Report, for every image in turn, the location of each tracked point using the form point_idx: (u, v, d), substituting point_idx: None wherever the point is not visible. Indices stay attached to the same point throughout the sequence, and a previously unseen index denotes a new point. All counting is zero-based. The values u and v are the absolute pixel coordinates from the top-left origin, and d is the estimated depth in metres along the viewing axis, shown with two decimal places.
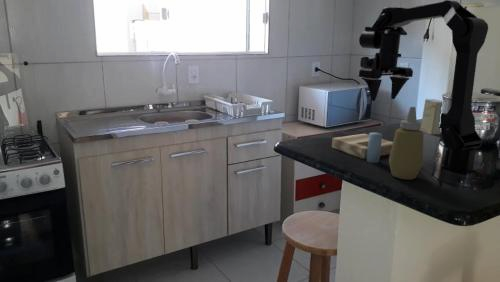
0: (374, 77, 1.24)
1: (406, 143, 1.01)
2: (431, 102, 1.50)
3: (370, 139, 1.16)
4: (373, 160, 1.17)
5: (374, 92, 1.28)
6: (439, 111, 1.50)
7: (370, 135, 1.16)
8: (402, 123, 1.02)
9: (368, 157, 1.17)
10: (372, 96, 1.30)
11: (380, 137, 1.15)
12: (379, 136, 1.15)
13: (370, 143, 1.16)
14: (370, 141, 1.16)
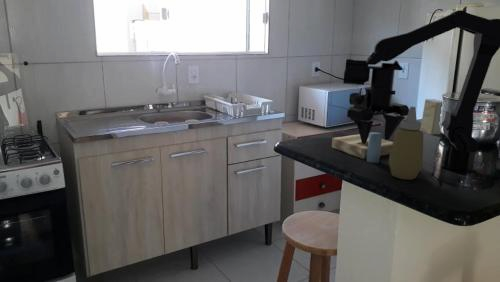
0: (364, 119, 1.08)
1: (406, 143, 1.01)
2: (431, 102, 1.50)
3: (370, 139, 1.16)
4: (373, 160, 1.17)
5: (365, 134, 1.12)
6: (439, 111, 1.50)
7: (370, 135, 1.16)
8: (402, 123, 1.02)
9: (368, 157, 1.17)
10: (362, 138, 1.14)
11: (380, 137, 1.15)
12: (379, 136, 1.15)
13: (370, 143, 1.16)
14: (370, 141, 1.16)
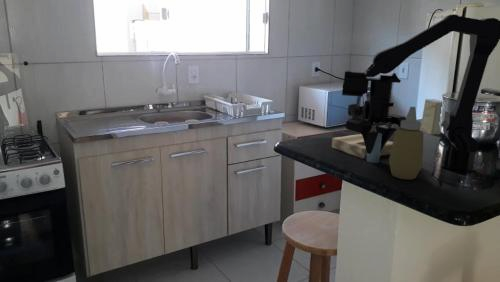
0: (362, 131, 1.09)
1: (406, 143, 1.01)
2: (431, 102, 1.50)
3: None
4: (373, 160, 1.17)
5: (370, 145, 1.15)
6: (439, 111, 1.50)
7: None
8: (402, 123, 1.02)
9: (368, 157, 1.17)
10: (368, 149, 1.16)
11: (380, 137, 1.15)
12: (379, 136, 1.15)
13: None
14: None
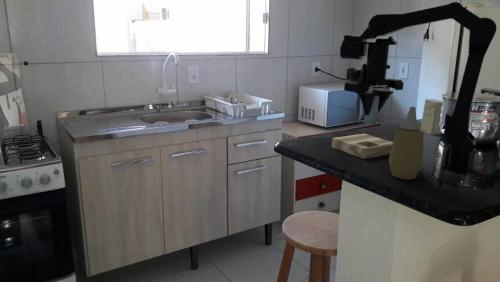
0: (360, 91, 1.13)
1: (406, 143, 1.01)
2: (431, 102, 1.50)
3: None
4: (370, 122, 1.21)
5: (367, 106, 1.19)
6: (439, 111, 1.50)
7: None
8: (402, 123, 1.02)
9: (366, 119, 1.22)
10: (365, 110, 1.20)
11: (377, 99, 1.20)
12: (376, 98, 1.19)
13: None
14: None
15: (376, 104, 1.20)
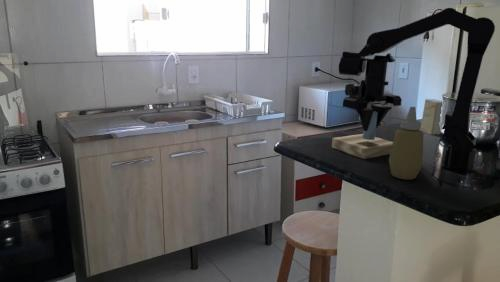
0: (359, 108, 1.15)
1: (406, 143, 1.01)
2: (431, 102, 1.50)
3: None
4: (369, 137, 1.22)
5: (366, 122, 1.20)
6: (439, 111, 1.50)
7: None
8: (402, 123, 1.02)
9: (364, 134, 1.23)
10: (364, 126, 1.22)
11: (375, 115, 1.21)
12: (374, 114, 1.20)
13: None
14: None
15: (374, 120, 1.21)
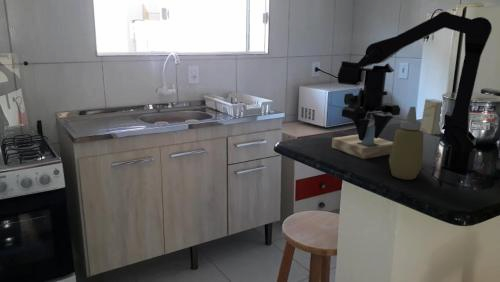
0: (357, 118, 1.15)
1: (406, 143, 1.01)
2: (431, 102, 1.50)
3: None
4: None
5: (362, 132, 1.20)
6: (439, 111, 1.50)
7: None
8: (402, 123, 1.02)
9: None
10: (360, 136, 1.22)
11: (373, 129, 1.22)
12: (372, 128, 1.22)
13: None
14: None
15: (372, 134, 1.22)
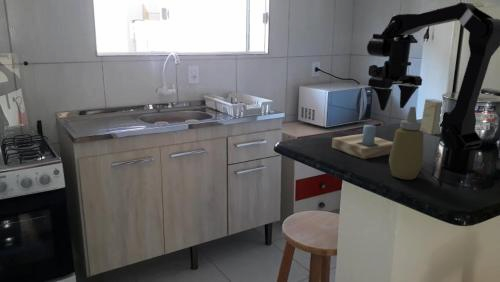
0: (385, 86, 1.20)
1: (406, 143, 1.01)
2: (431, 102, 1.50)
3: (364, 131, 1.23)
4: None
5: (384, 102, 1.25)
6: (439, 111, 1.50)
7: (364, 127, 1.23)
8: (402, 123, 1.02)
9: None
10: (382, 106, 1.26)
11: (374, 129, 1.22)
12: (373, 128, 1.22)
13: (364, 135, 1.23)
14: (364, 133, 1.23)
15: (373, 134, 1.22)
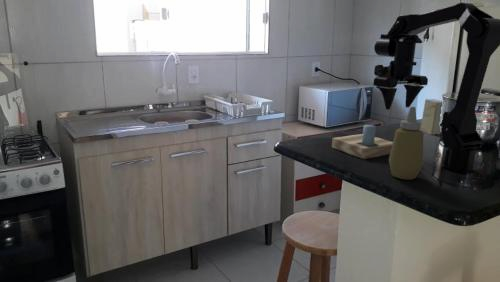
0: (389, 86, 1.22)
1: (406, 143, 1.01)
2: (431, 102, 1.50)
3: (364, 131, 1.23)
4: None
5: (389, 101, 1.26)
6: (439, 111, 1.50)
7: (364, 127, 1.23)
8: (402, 123, 1.02)
9: None
10: (387, 105, 1.28)
11: (374, 129, 1.22)
12: (373, 128, 1.22)
13: (364, 135, 1.23)
14: (364, 133, 1.23)
15: (373, 134, 1.22)
